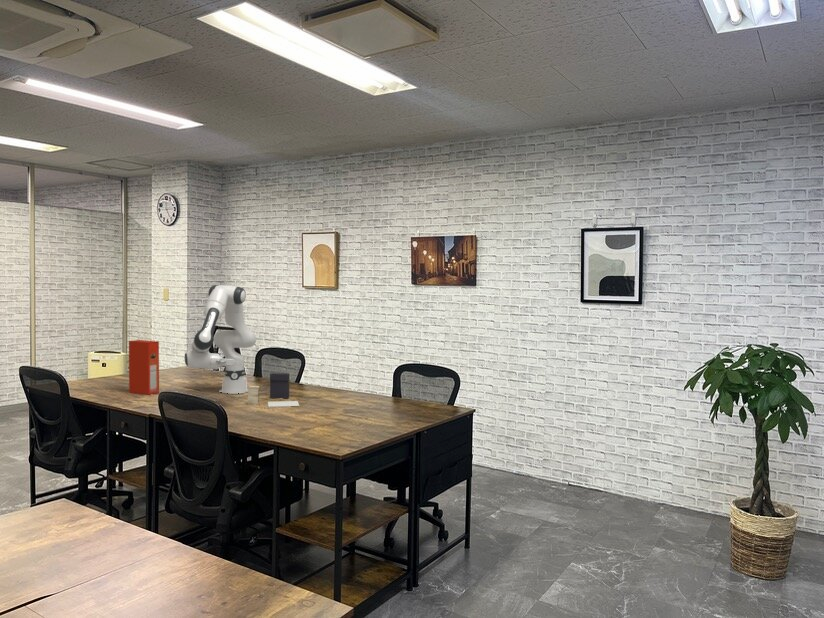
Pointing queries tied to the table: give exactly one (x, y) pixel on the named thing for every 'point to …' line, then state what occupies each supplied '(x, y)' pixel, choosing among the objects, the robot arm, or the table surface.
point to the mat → (283, 404)
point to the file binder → (144, 367)
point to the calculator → (279, 385)
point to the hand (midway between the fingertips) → (240, 363)
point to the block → (253, 395)
